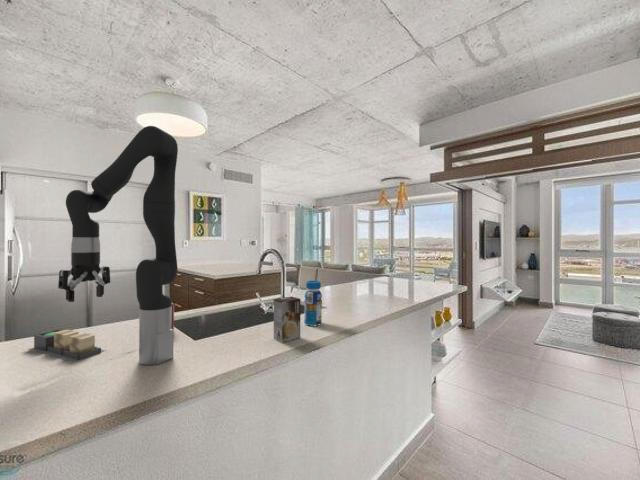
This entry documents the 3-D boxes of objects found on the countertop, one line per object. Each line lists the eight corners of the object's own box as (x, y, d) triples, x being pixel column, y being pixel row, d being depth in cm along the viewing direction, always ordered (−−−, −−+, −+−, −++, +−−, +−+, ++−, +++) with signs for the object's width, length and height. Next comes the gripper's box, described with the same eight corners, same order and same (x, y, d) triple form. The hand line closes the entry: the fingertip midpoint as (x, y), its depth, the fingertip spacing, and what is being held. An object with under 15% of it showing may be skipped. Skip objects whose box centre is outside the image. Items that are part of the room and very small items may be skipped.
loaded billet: (78, 349, 100) (78, 331, 100) (64, 353, 96) (64, 335, 96) (67, 346, 102) (67, 329, 102) (53, 350, 98) (53, 332, 98)
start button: (63, 341, 103) (63, 332, 103) (48, 345, 99) (48, 336, 99) (56, 339, 105) (56, 331, 105) (41, 343, 101) (41, 334, 101)
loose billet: (94, 353, 96) (94, 335, 96) (81, 357, 93) (81, 339, 93) (83, 350, 99) (83, 332, 99) (69, 354, 95) (69, 336, 95)
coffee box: (291, 333, 122) (292, 296, 122) (300, 338, 117) (301, 298, 117) (272, 338, 116) (273, 298, 116) (281, 343, 111) (282, 301, 111)
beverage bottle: (301, 322, 138) (301, 280, 138) (317, 320, 142) (318, 279, 141) (308, 327, 130) (308, 283, 130) (324, 325, 134) (325, 282, 134)
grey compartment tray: (106, 353, 99) (106, 337, 99) (72, 365, 89) (72, 347, 89) (62, 342, 108) (62, 327, 108) (27, 352, 99) (27, 336, 99)
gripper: (68, 252, 89) (67, 304, 89) (115, 250, 102) (115, 296, 102) (53, 251, 91) (53, 302, 92) (101, 249, 105) (101, 294, 105)
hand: (85, 299), depth 97 cm, fingers open, 8 cm apart
